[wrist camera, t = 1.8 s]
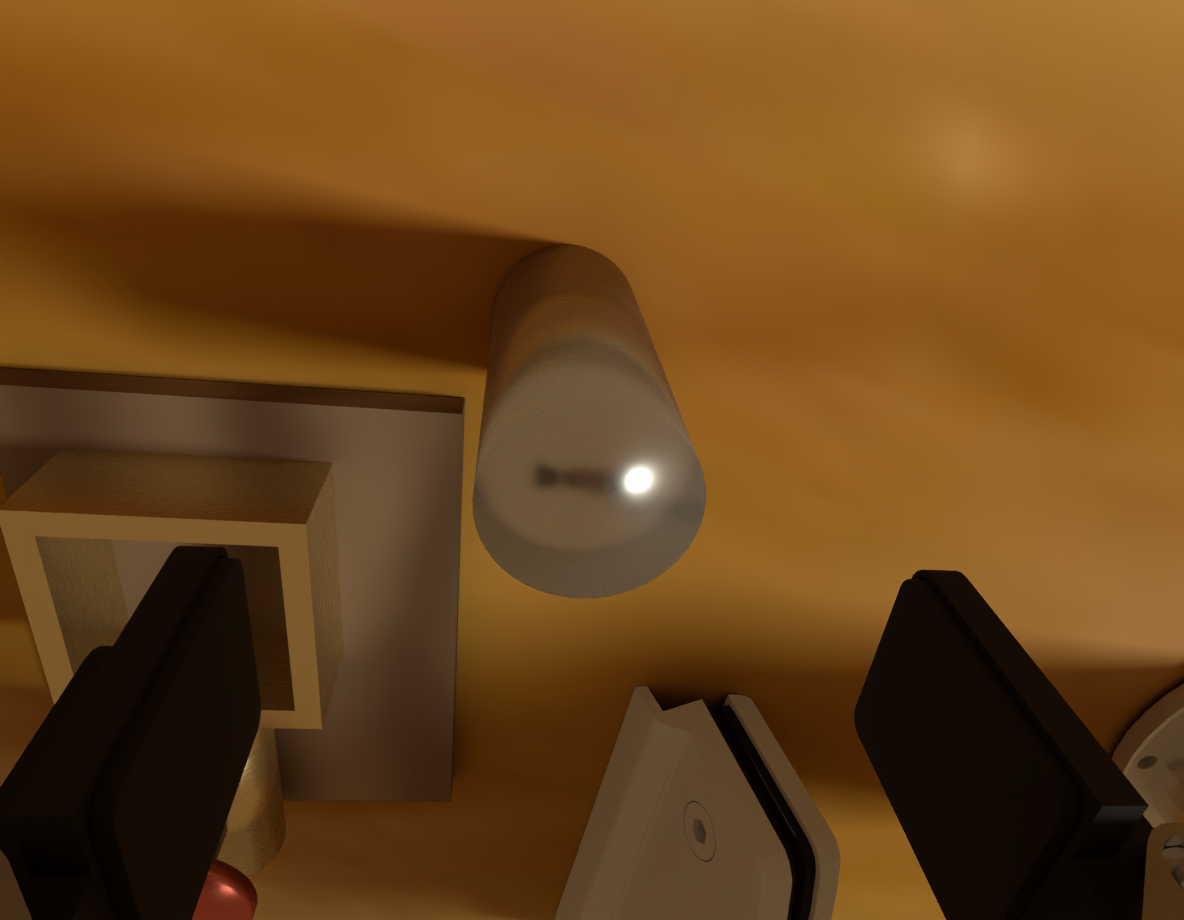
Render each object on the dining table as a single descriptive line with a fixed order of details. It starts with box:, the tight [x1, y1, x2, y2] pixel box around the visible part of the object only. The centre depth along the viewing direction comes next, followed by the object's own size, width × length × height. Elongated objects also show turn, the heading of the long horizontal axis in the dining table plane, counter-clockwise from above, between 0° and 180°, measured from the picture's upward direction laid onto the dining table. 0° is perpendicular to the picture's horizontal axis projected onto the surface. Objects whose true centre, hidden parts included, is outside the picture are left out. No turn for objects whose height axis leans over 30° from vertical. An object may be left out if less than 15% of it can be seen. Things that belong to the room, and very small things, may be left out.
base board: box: [0, 368, 465, 802], centre depth 29 cm, size 14×18×1 cm
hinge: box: [555, 686, 840, 920], centre depth 33 cm, size 17×5×10 cm, turn 167°
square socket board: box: [0, 448, 344, 920], centre depth 26 cm, size 8×16×7 cm, turn 174°
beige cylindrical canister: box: [473, 245, 706, 598], centre depth 20 cm, size 4×4×11 cm
